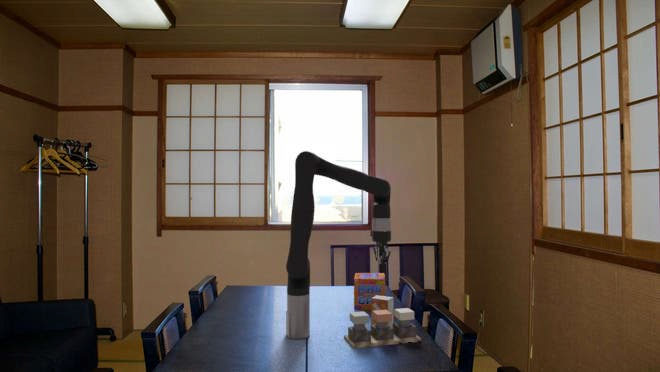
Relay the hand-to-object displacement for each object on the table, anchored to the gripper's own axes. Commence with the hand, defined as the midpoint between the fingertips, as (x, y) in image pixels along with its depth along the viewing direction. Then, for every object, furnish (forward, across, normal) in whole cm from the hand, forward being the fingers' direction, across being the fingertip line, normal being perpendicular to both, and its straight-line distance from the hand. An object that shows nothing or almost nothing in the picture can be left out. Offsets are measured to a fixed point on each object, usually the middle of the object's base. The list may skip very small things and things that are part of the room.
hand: (381, 272), depth 183 cm
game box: (+27, -50, +13) cm, 58 cm away
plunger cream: (+23, 0, +10) cm, 25 cm away
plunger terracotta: (+23, 0, 0) cm, 23 cm away
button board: (+27, 0, 0) cm, 27 cm away
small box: (+27, -15, +6) cm, 31 cm away
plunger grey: (+23, 0, -9) cm, 24 cm away
